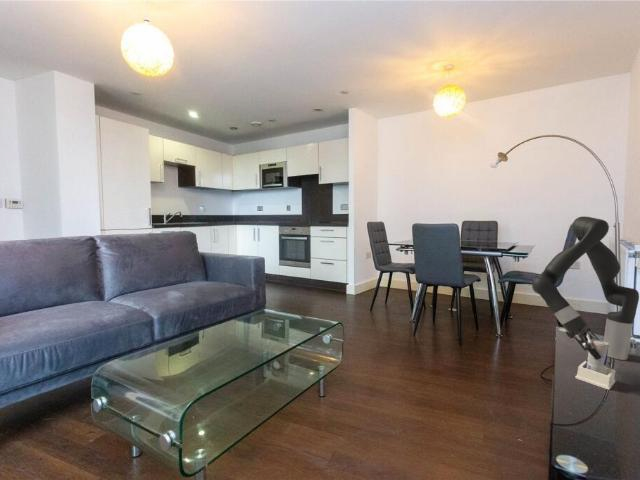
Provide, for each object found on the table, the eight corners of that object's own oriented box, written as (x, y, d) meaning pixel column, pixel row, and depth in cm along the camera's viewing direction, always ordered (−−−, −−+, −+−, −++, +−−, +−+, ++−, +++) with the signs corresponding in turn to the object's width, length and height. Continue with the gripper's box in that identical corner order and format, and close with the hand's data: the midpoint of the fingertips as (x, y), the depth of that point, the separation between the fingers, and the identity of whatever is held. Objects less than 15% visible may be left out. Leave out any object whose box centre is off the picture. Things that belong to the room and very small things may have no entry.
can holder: (582, 371, 140) (584, 360, 139) (615, 382, 132) (616, 370, 131) (575, 378, 133) (576, 366, 133) (609, 389, 125) (610, 377, 125)
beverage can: (606, 382, 129) (612, 345, 128) (590, 380, 130) (595, 343, 129) (598, 375, 135) (603, 339, 133) (582, 373, 136) (587, 337, 134)
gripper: (573, 317, 132) (607, 356, 124) (583, 312, 141) (615, 348, 133) (556, 326, 136) (587, 364, 129) (567, 320, 145) (596, 356, 138)
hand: (601, 356), depth 131 cm, fingers open, 8 cm apart
